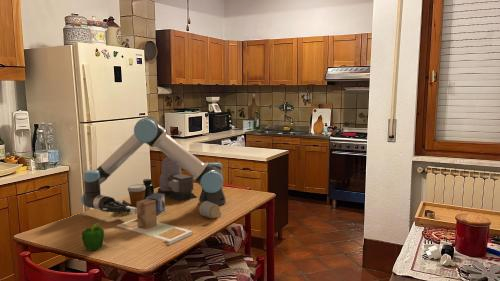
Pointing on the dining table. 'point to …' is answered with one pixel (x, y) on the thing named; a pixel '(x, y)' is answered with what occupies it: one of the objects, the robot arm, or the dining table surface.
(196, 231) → the dining table surface
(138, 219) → the walnut block
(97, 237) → the bell pepper
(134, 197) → the disposable coffee cup
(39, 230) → the dining table surface
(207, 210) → the ceramic mug
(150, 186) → the supplement bottle
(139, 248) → the dining table surface
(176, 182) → the juicer
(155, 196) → the small box
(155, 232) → the trap board
